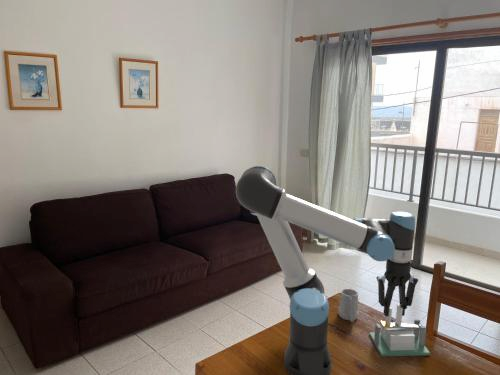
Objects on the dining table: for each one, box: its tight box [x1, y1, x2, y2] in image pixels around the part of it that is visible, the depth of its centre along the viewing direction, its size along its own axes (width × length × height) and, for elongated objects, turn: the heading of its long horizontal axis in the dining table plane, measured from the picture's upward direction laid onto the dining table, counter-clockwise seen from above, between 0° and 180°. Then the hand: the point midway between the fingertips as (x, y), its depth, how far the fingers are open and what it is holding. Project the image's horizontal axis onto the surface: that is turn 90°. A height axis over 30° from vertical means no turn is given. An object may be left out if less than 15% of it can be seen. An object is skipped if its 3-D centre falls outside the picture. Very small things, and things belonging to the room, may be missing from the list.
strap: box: [379, 320, 423, 331], centre depth 131 cm, size 14×3×2 cm, turn 92°
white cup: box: [338, 288, 360, 323], centre depth 147 cm, size 8×12×12 cm, turn 179°
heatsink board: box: [368, 318, 431, 357], centre depth 131 cm, size 16×12×8 cm
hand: (393, 323), depth 130 cm, fingers open, 3 cm apart
